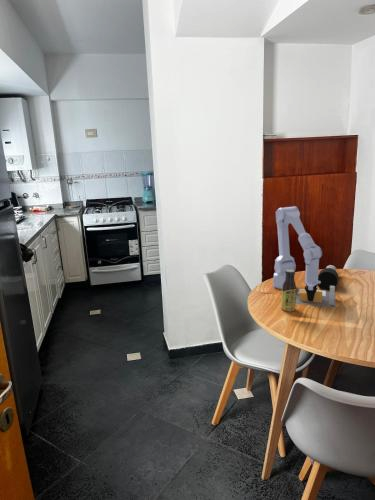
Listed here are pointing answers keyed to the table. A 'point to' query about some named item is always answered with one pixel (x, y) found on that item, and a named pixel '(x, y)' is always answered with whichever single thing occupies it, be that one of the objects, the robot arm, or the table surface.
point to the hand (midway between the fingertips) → (310, 299)
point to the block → (316, 297)
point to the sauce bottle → (289, 292)
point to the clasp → (331, 295)
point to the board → (324, 302)
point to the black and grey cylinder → (328, 278)
